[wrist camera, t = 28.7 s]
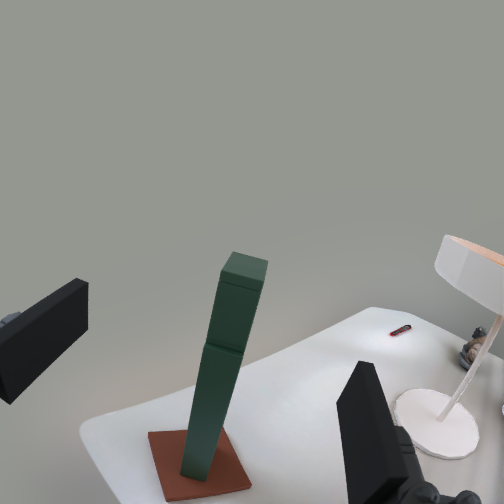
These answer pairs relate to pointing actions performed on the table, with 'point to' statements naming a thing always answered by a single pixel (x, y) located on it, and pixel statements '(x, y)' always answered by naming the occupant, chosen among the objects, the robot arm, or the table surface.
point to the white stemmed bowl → (448, 409)
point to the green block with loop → (222, 359)
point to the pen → (400, 330)
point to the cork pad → (183, 488)
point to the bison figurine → (472, 348)
